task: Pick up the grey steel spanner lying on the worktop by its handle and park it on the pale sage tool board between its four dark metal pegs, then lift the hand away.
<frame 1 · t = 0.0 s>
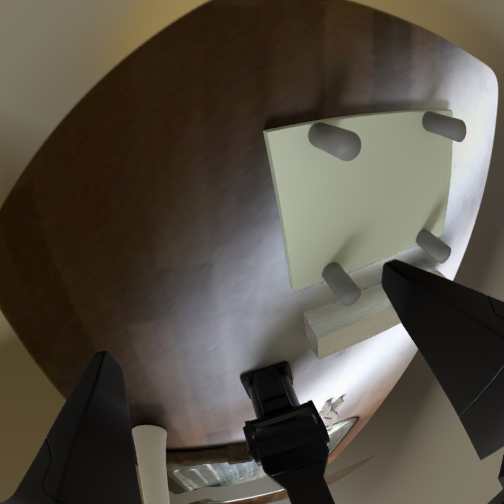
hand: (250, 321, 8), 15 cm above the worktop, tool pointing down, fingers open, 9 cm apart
cosmetic bottle: (149, 430, 39), on the worktop
pliers: (321, 414, 50), on the worktop
hand tool: (207, 446, 47), on the worktop
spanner: (357, 303, 32), on the worktop
peg board: (378, 191, 24), on the worktop
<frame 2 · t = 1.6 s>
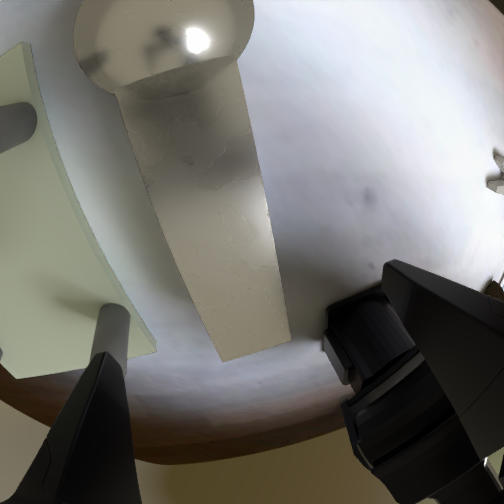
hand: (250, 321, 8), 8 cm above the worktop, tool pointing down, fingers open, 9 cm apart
hand tool: (462, 327, 34), on the worktop
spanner: (212, 209, 15), on the worktop
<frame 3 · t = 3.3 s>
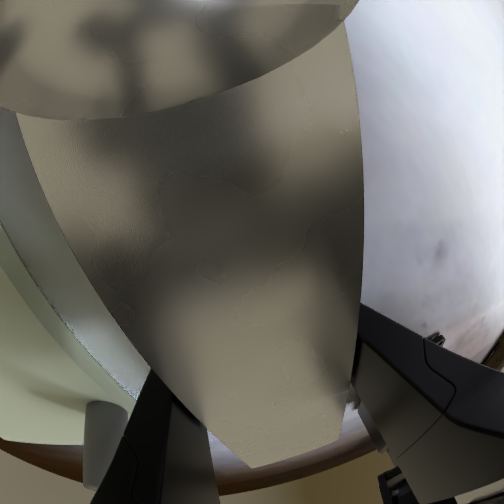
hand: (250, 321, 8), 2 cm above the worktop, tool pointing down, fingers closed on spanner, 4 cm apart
hand tool: (485, 355, 29), on the worktop
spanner: (239, 288, 9), on the worktop, touching gripper
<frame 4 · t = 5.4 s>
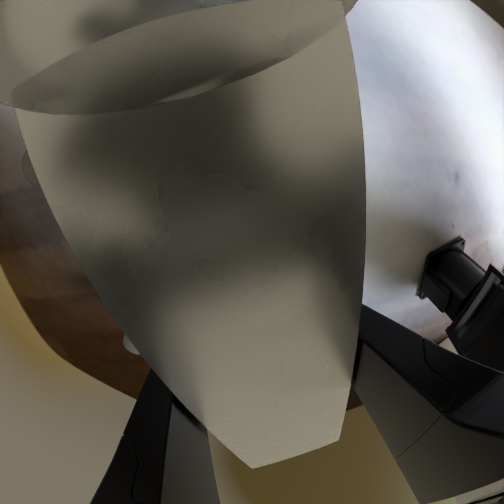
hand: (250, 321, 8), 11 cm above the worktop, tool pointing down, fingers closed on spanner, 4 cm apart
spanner: (239, 287, 9), point 10 cm above the worktop, touching gripper
peg board: (200, 195, 17), on the worktop
when the fingers open (4 cm above the worktop, at t = 7.5 s): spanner drops 1 cm, resting on peg board.
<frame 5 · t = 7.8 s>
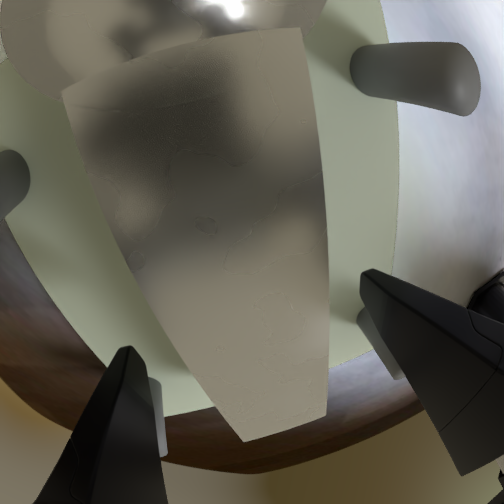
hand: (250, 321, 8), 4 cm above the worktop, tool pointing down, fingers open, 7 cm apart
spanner: (231, 264, 11), point 1 cm above the worktop, touching peg board
peg board: (225, 250, 11), on the worktop
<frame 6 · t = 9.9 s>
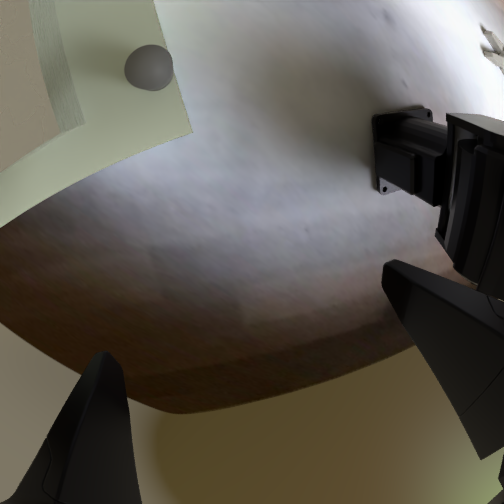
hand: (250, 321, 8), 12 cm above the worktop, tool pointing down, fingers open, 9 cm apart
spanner: (30, 40, 8), point 1 cm above the worktop, touching peg board
peg board: (36, 42, 9), on the worktop
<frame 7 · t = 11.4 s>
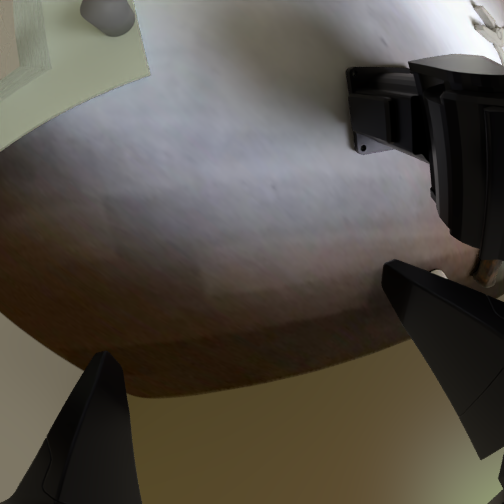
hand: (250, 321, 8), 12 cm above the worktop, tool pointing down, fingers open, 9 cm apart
pliers: (501, 47, 15), on the worktop
hand tool: (489, 220, 29), on the worktop
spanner: (15, 1, 6), point 1 cm above the worktop, touching peg board
peg board: (21, 3, 7), on the worktop
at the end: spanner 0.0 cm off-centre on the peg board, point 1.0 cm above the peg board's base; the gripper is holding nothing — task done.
